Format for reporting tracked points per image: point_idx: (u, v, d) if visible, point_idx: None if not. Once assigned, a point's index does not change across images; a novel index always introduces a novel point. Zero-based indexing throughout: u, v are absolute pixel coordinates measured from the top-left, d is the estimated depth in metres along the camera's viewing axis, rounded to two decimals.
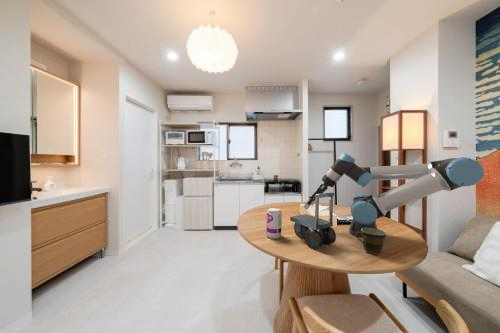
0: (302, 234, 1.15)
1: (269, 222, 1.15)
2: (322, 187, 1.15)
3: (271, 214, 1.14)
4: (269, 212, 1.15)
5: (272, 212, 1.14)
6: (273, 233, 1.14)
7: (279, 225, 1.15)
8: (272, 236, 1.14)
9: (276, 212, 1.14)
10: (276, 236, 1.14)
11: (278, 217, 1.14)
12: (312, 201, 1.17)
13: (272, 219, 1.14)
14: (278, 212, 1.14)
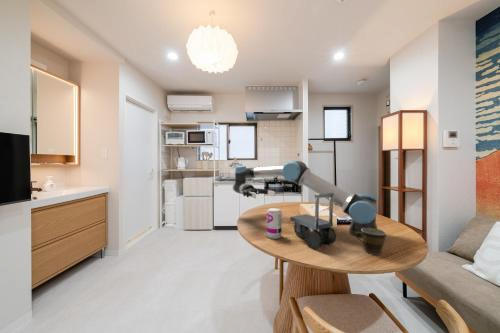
0: (302, 234, 1.15)
1: (269, 222, 1.15)
2: (242, 191, 1.34)
3: (271, 214, 1.14)
4: (269, 212, 1.15)
5: (272, 212, 1.14)
6: (273, 233, 1.14)
7: (279, 225, 1.15)
8: (272, 236, 1.14)
9: (276, 212, 1.14)
10: (276, 236, 1.14)
11: (278, 217, 1.14)
12: (249, 192, 1.26)
13: (272, 219, 1.14)
14: (278, 212, 1.14)
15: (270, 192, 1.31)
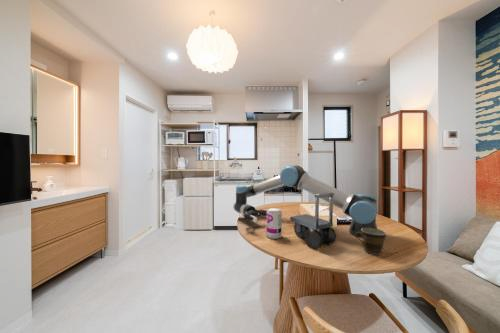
0: (302, 234, 1.15)
1: (269, 222, 1.15)
2: (243, 213, 1.33)
3: (271, 214, 1.14)
4: (269, 212, 1.15)
5: (272, 212, 1.14)
6: (273, 233, 1.14)
7: (279, 225, 1.15)
8: (272, 236, 1.14)
9: (276, 212, 1.14)
10: (276, 236, 1.14)
11: (278, 217, 1.14)
12: (250, 216, 1.25)
13: (272, 219, 1.14)
14: (278, 212, 1.14)
15: None
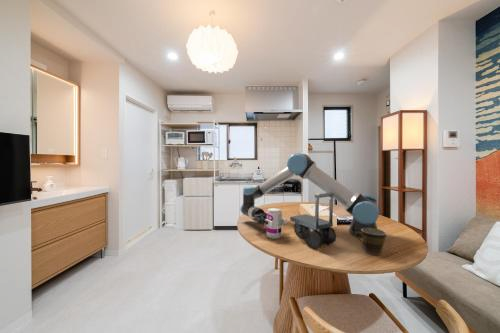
0: (302, 234, 1.15)
1: None
2: (253, 217, 1.24)
3: (271, 214, 1.14)
4: (269, 212, 1.15)
5: (272, 212, 1.14)
6: (273, 233, 1.14)
7: (279, 225, 1.15)
8: (272, 236, 1.14)
9: (276, 212, 1.14)
10: (276, 236, 1.14)
11: (278, 217, 1.14)
12: (265, 220, 1.16)
13: (272, 219, 1.14)
14: (278, 212, 1.14)
15: None
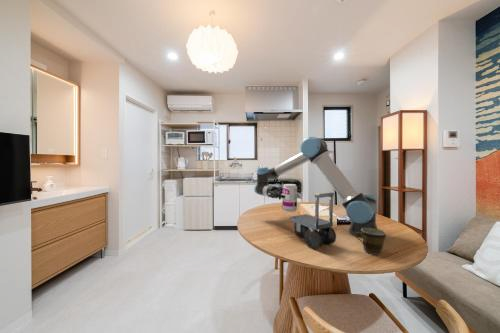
0: (302, 234, 1.15)
1: None
2: (269, 193, 1.30)
3: (287, 188, 1.20)
4: (285, 186, 1.21)
5: (288, 186, 1.20)
6: (289, 206, 1.20)
7: (295, 199, 1.21)
8: (288, 209, 1.20)
9: (292, 186, 1.20)
10: (292, 209, 1.20)
11: (294, 191, 1.20)
12: (281, 194, 1.22)
13: (288, 193, 1.20)
14: (294, 186, 1.20)
15: None
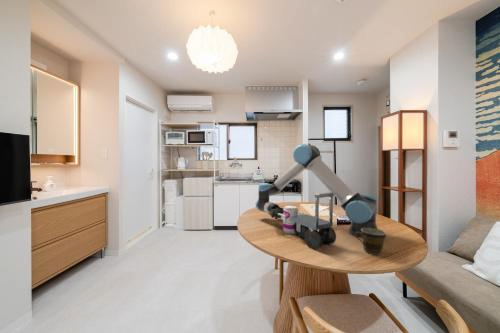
0: (302, 234, 1.15)
1: (286, 219, 1.22)
2: (268, 211, 1.32)
3: (288, 211, 1.21)
4: (286, 209, 1.22)
5: (289, 209, 1.21)
6: (290, 229, 1.21)
7: None
8: (289, 232, 1.21)
9: (293, 209, 1.21)
10: (293, 232, 1.21)
11: (295, 214, 1.21)
12: (278, 214, 1.23)
13: (289, 216, 1.21)
14: (295, 209, 1.21)
15: (298, 213, 1.28)
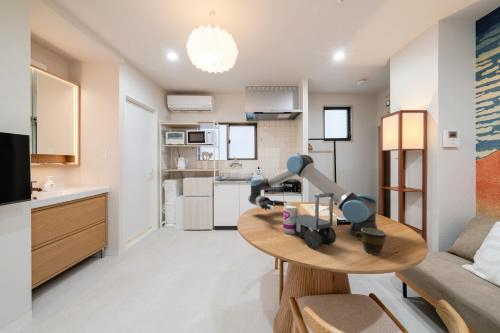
0: (302, 234, 1.15)
1: (286, 219, 1.22)
2: (259, 204, 1.43)
3: (288, 211, 1.21)
4: (286, 209, 1.22)
5: (289, 209, 1.21)
6: (290, 229, 1.21)
7: None
8: (289, 232, 1.21)
9: (293, 209, 1.21)
10: (293, 232, 1.21)
11: (295, 214, 1.21)
12: (267, 205, 1.35)
13: (289, 216, 1.21)
14: (295, 209, 1.21)
15: (286, 204, 1.40)
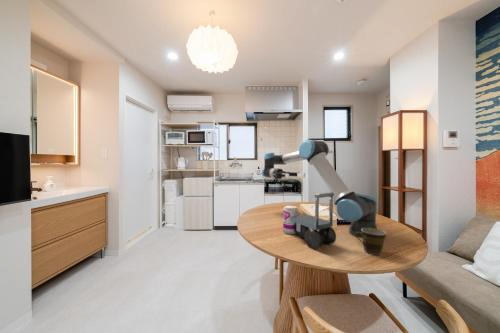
0: (302, 234, 1.15)
1: (286, 219, 1.22)
2: (274, 174, 1.49)
3: (288, 211, 1.21)
4: (286, 209, 1.22)
5: (289, 209, 1.21)
6: (290, 229, 1.21)
7: None
8: (289, 232, 1.21)
9: (293, 209, 1.21)
10: (293, 232, 1.21)
11: (295, 214, 1.21)
12: None
13: (289, 216, 1.21)
14: (295, 209, 1.21)
15: (300, 174, 1.46)
